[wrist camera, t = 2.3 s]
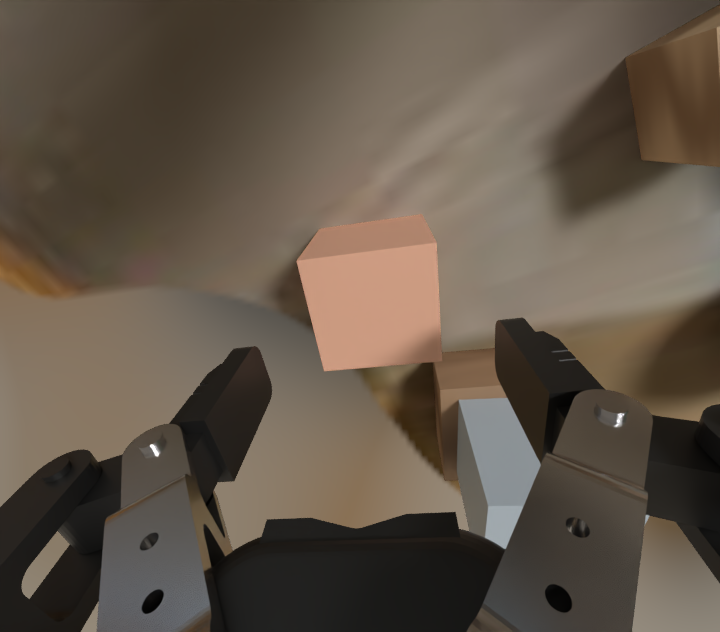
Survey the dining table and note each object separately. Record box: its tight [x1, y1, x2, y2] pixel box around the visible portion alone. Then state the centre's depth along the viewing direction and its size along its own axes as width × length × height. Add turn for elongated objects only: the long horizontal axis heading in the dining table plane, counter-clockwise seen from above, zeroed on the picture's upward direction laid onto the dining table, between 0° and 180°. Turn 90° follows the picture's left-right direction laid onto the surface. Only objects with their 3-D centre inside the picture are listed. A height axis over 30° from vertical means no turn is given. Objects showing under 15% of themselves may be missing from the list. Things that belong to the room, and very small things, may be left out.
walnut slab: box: [432, 348, 507, 481], centre depth 19 cm, size 7×7×4 cm
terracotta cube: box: [297, 214, 442, 371], centre depth 15 cm, size 5×5×5 cm
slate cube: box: [457, 398, 649, 549], centre depth 15 cm, size 6×6×6 cm
